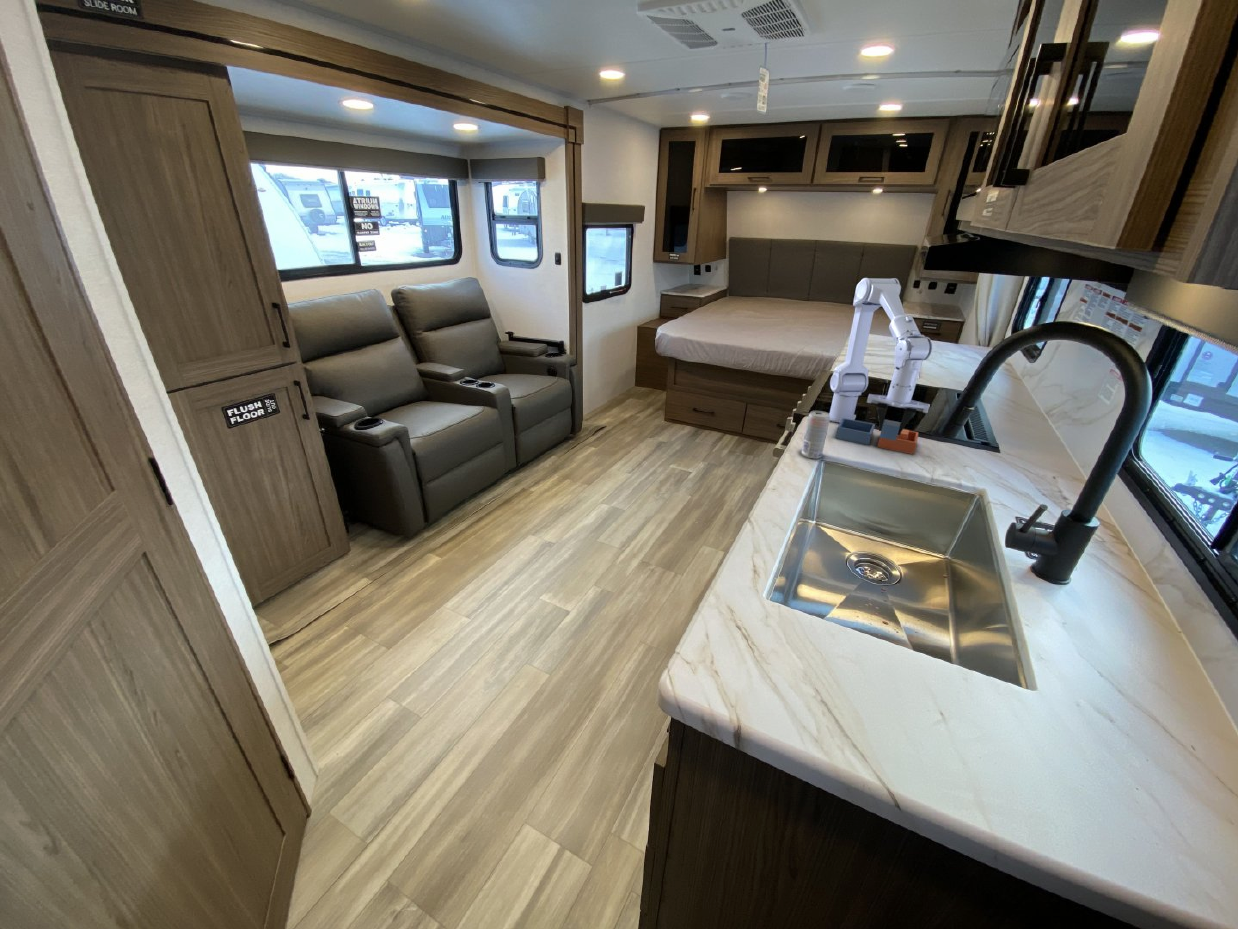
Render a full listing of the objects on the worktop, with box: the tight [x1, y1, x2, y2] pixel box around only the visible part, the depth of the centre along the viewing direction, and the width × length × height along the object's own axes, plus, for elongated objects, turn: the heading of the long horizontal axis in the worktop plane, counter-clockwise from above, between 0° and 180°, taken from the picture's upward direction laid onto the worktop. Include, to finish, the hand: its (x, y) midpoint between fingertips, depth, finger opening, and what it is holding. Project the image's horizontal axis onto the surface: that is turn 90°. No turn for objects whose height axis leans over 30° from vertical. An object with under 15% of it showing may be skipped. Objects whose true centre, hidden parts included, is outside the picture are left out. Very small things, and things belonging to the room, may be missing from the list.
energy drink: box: [800, 410, 831, 460], centre depth 133 cm, size 5×5×12 cm
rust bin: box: [877, 430, 919, 455], centre depth 142 cm, size 9×9×4 cm
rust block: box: [897, 428, 910, 440], centre depth 142 cm, size 4×4×4 cm
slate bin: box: [834, 418, 876, 446], centre depth 147 cm, size 9×9×4 cm
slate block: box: [879, 419, 902, 441], centre depth 135 cm, size 4×4×4 cm
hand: (889, 431), depth 135 cm, fingers closed on slate block, 4 cm apart
